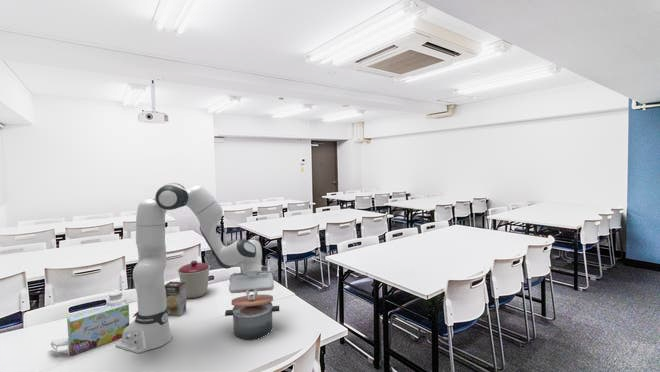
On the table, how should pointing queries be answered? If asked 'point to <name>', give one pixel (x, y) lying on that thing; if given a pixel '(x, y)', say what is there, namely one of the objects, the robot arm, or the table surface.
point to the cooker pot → (252, 320)
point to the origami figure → (60, 344)
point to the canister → (195, 278)
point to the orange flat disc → (258, 301)
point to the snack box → (97, 327)
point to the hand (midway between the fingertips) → (251, 300)
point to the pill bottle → (115, 298)
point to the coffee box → (176, 298)
